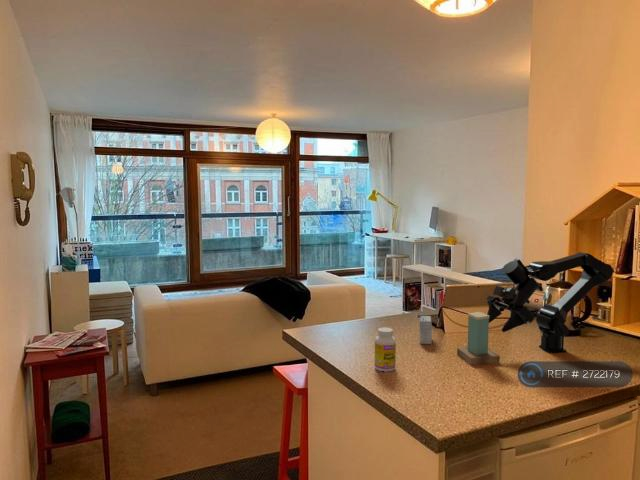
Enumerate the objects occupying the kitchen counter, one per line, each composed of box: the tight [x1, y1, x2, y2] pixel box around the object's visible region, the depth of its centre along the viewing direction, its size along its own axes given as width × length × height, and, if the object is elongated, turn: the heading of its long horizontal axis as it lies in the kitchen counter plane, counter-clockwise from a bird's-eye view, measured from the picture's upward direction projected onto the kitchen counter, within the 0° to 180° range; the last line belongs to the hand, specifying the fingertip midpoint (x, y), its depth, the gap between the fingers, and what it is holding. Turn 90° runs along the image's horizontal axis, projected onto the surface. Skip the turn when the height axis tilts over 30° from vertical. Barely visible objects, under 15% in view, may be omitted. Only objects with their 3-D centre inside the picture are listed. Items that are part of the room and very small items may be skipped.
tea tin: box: [467, 311, 490, 355], centre depth 156 cm, size 5×5×13 cm
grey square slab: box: [456, 346, 501, 366], centre depth 157 cm, size 10×10×3 cm
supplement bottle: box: [374, 326, 397, 373], centre depth 149 cm, size 7×7×13 cm
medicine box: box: [418, 315, 433, 345], centre depth 176 cm, size 8×4×9 cm, turn 168°
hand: (493, 327), depth 158 cm, fingers open, 9 cm apart
